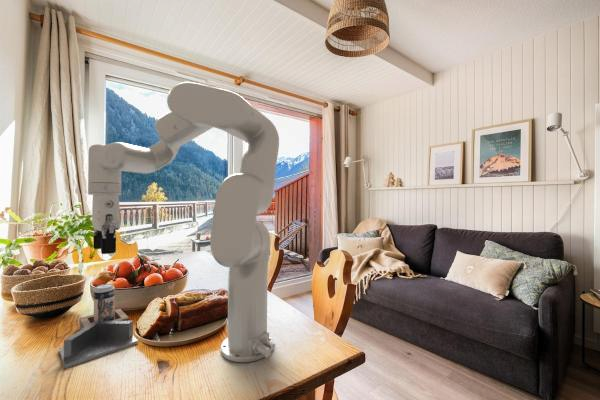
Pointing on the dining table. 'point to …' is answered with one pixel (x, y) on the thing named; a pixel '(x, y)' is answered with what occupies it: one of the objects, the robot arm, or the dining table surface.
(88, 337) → the v block
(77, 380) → the dining table surface
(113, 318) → the beer can
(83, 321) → the grey square frame
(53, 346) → the dining table surface
